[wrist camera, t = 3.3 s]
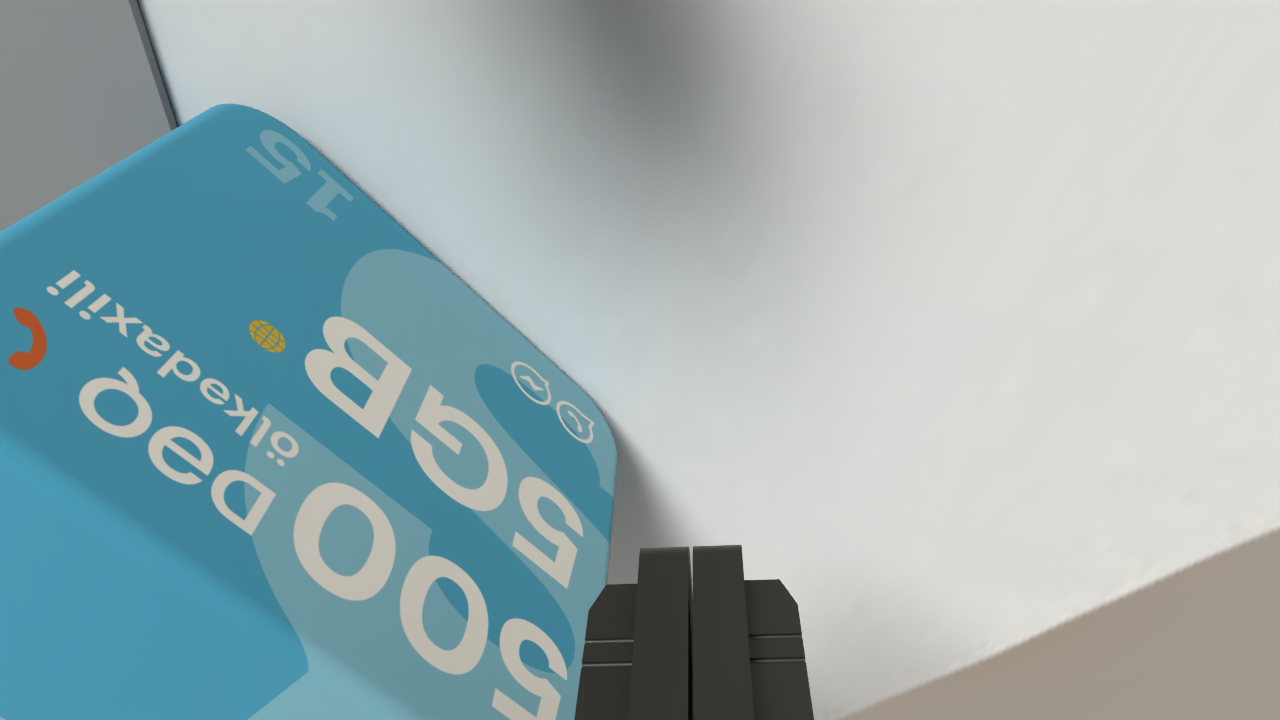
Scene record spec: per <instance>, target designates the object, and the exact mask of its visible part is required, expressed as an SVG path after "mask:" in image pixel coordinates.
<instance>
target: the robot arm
mask: <svg viewBox="0 0 1280 720" xmlns="http://www.w3.org/2000/svg"><path fill="white" fill-rule="evenodd" d="M574 720H814V717H813V710H812V703H811V696H810V689H809V682H808V675H807V668H806V663H805V654H804V647H803V640H802V632H801V625H800V618H799V611H798V604H797V603H796V602H795V600H794V599H793V597H792V596H791V595H790V593H789V592H788V591H787V589H786V588H785V586H784V585H783V584H782V582H781V581H780V580H779V579H777V580H744V572H743V559H742V547H741V545H725V546H694V547H693V592H692V578H691V563H690V551H689V547H670V548H641V550H640V557H639V571H638V584H617V585H606V586H605V587H604V589H603V590H602V592H601V593H600V594H599V596H598V597H597V599H596V600H595V602H594V603H593V605H592V606H591V608H590V609H589V612H588V619H587V627H586V634H585V645H584V650H583V657H582V668H581V673H580V680H579V688H578V695H577V703H576V711H575V718H574Z"/></svg>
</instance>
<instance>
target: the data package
mask: <svg viewBox="0 0 1280 720" xmlns="http://www.w3.org/2000/svg"><path fill="white" fill-rule="evenodd" d="M616 469H617V448H616V444H615V440H614V437H613V434H612V432H611V430H610V428H609V426H608V424H607V422H606V420H605V418H604V417H603V415H602V413H601V412H600V410H599V409H598V408H597V406H596V405H595V404H594V402H593V401H592V400H591V399H590V398H589V396H588V395H587V394H586V393H585V392H584V391H583V390H582V389H581V388H580V387H579V386H578V385H577V384H576V383H574V382H573V381H572V380H571V379H570V378H569V377H568V376H567V375H566V374H564V373H563V372H562V371H561V370H560V369H559V368H558V367H557V366H556V365H554V364H553V363H552V362H551V361H550V360H549V359H548V358H547V357H546V356H544V355H543V354H542V353H541V352H540V351H539V350H538V349H537V348H536V347H534V346H533V345H532V344H531V343H530V342H529V341H528V340H527V339H526V338H524V337H523V336H522V335H521V334H520V333H519V332H518V331H517V330H516V329H514V328H513V327H512V326H511V325H510V324H509V323H508V322H507V321H506V320H505V319H503V318H502V317H501V316H500V315H499V314H498V313H497V312H496V311H495V310H493V309H492V308H491V307H490V306H489V305H488V304H487V303H486V302H485V301H483V300H482V299H481V298H480V297H479V296H478V295H477V294H476V293H475V292H473V291H472V290H471V289H470V288H469V287H468V286H467V285H466V284H465V283H463V282H462V281H461V280H460V279H459V278H458V277H457V276H456V275H455V274H453V273H452V272H451V271H450V270H449V269H448V268H447V267H446V266H445V265H443V264H442V263H441V262H440V261H439V260H438V259H437V258H436V257H435V256H433V255H432V254H431V253H430V252H429V251H428V250H427V249H426V248H425V247H423V246H422V245H421V244H420V243H419V242H418V241H417V240H416V239H415V238H414V237H412V236H411V235H410V234H409V233H408V232H407V231H406V230H405V229H404V228H402V227H401V226H400V225H399V224H398V223H397V222H396V221H395V220H394V219H392V218H391V217H390V216H389V215H388V214H387V213H386V212H385V211H384V210H382V209H381V208H380V207H379V206H378V205H377V204H376V203H375V202H374V201H372V200H371V199H370V198H369V197H368V196H367V195H366V194H365V193H364V192H362V191H361V190H360V189H359V188H358V187H357V186H356V185H355V184H354V183H352V182H351V181H350V180H349V179H348V178H347V177H346V176H345V175H344V174H342V173H341V172H340V171H339V170H338V169H337V168H336V167H335V166H334V165H332V164H331V163H330V162H329V161H328V160H327V159H326V158H325V157H324V156H323V155H321V154H320V153H319V152H318V151H317V150H316V149H315V148H314V147H313V146H311V145H310V144H309V143H308V142H307V141H306V140H305V139H303V138H302V137H301V136H300V135H299V134H297V133H296V132H295V131H294V130H292V129H291V128H289V127H288V126H287V125H285V124H284V123H282V122H280V121H279V120H277V119H275V118H274V117H272V116H270V115H268V114H266V113H264V112H261V111H259V110H257V109H254V108H251V107H248V106H244V105H238V104H221V105H217V106H214V107H212V108H210V109H208V110H206V111H205V112H203V113H201V114H200V115H198V116H196V117H195V118H193V119H191V120H189V121H188V122H186V123H184V124H183V125H181V126H179V127H178V128H176V129H174V130H172V131H171V132H169V133H167V134H166V135H164V136H162V137H161V138H159V139H157V140H155V141H154V142H152V143H150V144H149V145H147V146H145V147H144V148H142V149H140V150H138V151H137V152H135V153H133V154H132V155H130V156H128V157H127V158H125V159H123V160H122V161H120V162H118V163H116V164H115V165H113V166H111V167H110V168H108V169H106V170H105V171H103V172H101V173H99V174H98V175H96V176H94V177H93V178H91V179H89V180H88V181H86V182H84V183H82V184H81V185H79V186H77V187H76V188H74V189H72V190H71V191H69V192H67V193H65V194H64V195H62V196H60V197H59V198H57V199H55V200H54V201H52V202H50V203H48V204H47V205H45V206H43V207H42V208H40V209H38V210H37V211H35V212H33V213H31V214H30V215H28V216H26V217H25V218H23V219H21V220H20V221H18V222H16V223H15V224H13V225H11V226H9V227H8V228H6V229H4V230H3V231H1V232H0V720H574V718H575V711H576V703H577V695H578V688H579V680H580V673H581V668H582V657H583V650H584V645H585V634H586V627H587V619H588V612H589V609H590V608H591V606H592V605H593V603H594V602H595V600H596V599H597V597H598V596H599V594H600V593H601V592H602V590H603V589H604V587H605V586H606V585H607V575H608V563H609V551H610V540H611V528H612V516H613V504H614V493H615V481H616Z"/></svg>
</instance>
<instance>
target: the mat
mask: <svg viewBox="0 0 1280 720" xmlns="http://www.w3.org/2000/svg"><path fill="white" fill-rule="evenodd" d="M176 128H178V127H177V124H176V121H175V118H174V115H173V112H172V109H171V106H170V103H169V99H168V96H167V93H166V90H165V87H164V84H163V81H162V78H161V75H160V72H159V69H158V65H157V62H156V59H155V56H154V53H153V50H152V47H151V44H150V41H149V38H148V34H147V31H146V28H145V25H144V22H143V19H142V16H141V13H140V10H139V7H138V4H137V0H0V232H1V231H3V230H4V229H6V228H8V227H9V226H11V225H13V224H15V223H16V222H18V221H20V220H21V219H23V218H25V217H26V216H28V215H30V214H31V213H33V212H35V211H37V210H38V209H40V208H42V207H43V206H45V205H47V204H48V203H50V202H52V201H54V200H55V199H57V198H59V197H60V196H62V195H64V194H65V193H67V192H69V191H71V190H72V189H74V188H76V187H77V186H79V185H81V184H82V183H84V182H86V181H88V180H89V179H91V178H93V177H94V176H96V175H98V174H99V173H101V172H103V171H105V170H106V169H108V168H110V167H111V166H113V165H115V164H116V163H118V162H120V161H122V160H123V159H125V158H127V157H128V156H130V155H132V154H133V153H135V152H137V151H138V150H140V149H142V148H144V147H145V146H147V145H149V144H150V143H152V142H154V141H155V140H157V139H159V138H161V137H162V136H164V135H166V134H167V133H169V132H171V131H172V130H174V129H176Z"/></svg>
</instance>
